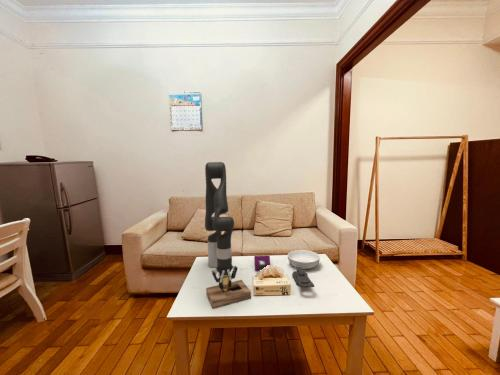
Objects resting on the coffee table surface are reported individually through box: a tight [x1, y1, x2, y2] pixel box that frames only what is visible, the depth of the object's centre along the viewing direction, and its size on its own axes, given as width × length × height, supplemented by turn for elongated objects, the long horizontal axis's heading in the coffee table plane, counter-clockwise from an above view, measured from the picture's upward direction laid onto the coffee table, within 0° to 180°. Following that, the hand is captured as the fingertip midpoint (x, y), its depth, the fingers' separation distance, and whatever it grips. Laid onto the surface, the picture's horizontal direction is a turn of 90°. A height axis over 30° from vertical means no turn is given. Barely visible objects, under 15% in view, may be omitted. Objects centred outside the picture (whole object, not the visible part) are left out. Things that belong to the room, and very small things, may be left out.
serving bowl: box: [287, 249, 321, 270], centre depth 156 cm, size 21×21×7 cm
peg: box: [222, 275, 229, 292], centre depth 121 cm, size 4×4×11 cm
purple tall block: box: [253, 255, 271, 271], centre depth 157 cm, size 9×8×18 cm
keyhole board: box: [205, 279, 252, 310], centre depth 122 cm, size 13×20×4 cm, turn 114°
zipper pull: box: [291, 267, 315, 288], centre depth 132 cm, size 9×7×25 cm
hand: (225, 287), depth 121 cm, fingers closed on peg, 3 cm apart
